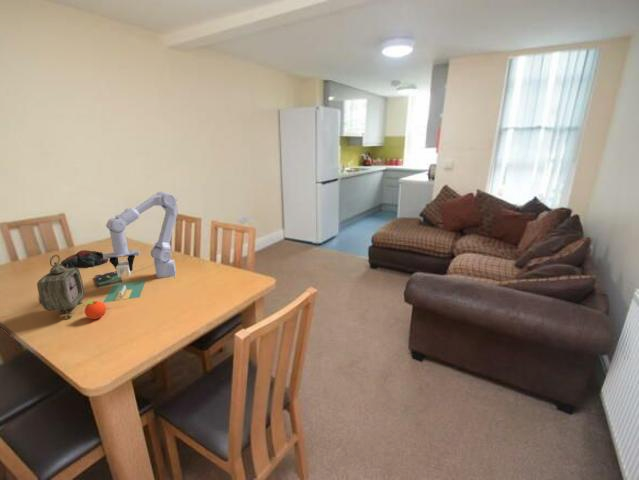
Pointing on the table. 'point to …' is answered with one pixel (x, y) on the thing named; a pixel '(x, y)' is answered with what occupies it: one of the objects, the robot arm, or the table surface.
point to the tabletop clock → (61, 288)
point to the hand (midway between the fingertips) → (125, 271)
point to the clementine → (95, 310)
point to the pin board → (125, 291)
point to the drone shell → (84, 259)
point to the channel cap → (121, 267)
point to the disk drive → (107, 279)
